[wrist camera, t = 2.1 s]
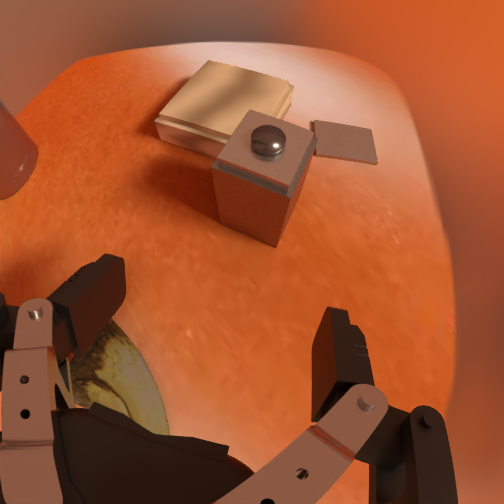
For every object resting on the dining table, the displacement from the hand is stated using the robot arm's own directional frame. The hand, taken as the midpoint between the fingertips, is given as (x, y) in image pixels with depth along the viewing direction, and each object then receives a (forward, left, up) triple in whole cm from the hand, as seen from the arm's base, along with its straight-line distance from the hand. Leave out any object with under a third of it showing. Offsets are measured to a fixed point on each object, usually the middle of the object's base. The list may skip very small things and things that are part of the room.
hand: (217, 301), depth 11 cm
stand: (-10, +20, -14) cm, 26 cm away
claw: (-6, -13, -15) cm, 21 cm away
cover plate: (+3, +23, -15) cm, 27 cm away
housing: (-2, +11, -14) cm, 18 cm away
